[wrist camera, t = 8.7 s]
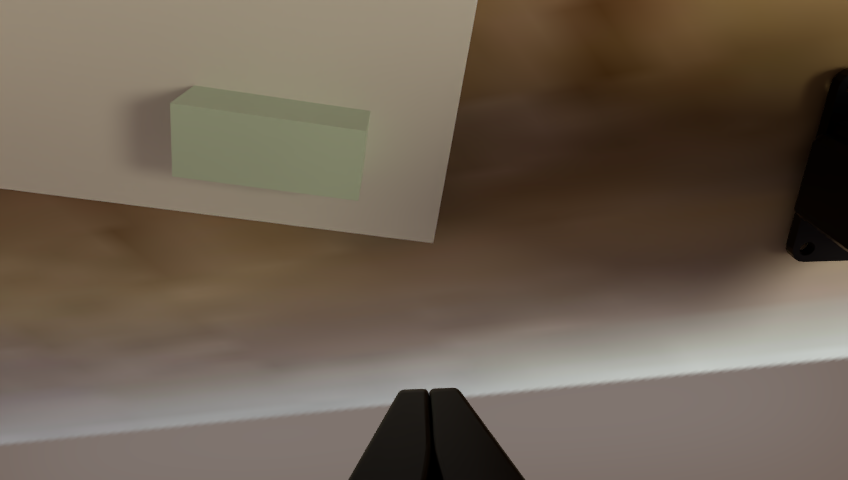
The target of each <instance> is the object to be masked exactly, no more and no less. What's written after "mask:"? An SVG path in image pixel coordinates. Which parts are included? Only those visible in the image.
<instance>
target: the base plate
mask: <svg viewBox="0 0 848 480" xmlns="http://www.w3.org/2000/svg"><path fill="white" fill-rule="evenodd" d="M477 1H478V0H0V188H1V189H9V190H16V191H24V192H32V193H40V194H48V195H56V196H64V197H72V198H80V199H88V200H96V201H103V202H111V203H119V204H127V205H135V206H143V207H151V208H159V209H167V210H175V211H182V212H190V213H198V214H206V215H214V216H222V217H230V218H238V219H246V220H254V221H262V222H269V223H277V224H285V225H293V226H301V227H309V228H317V229H325V230H333V231H341V232H348V233H356V234H364V235H372V236H380V237H388V238H396V239H404V240H412V241H420V242H428V243H433V242H434V237H435V231H436V226H437V220H438V215H439V209H440V204H441V198H442V193H443V187H444V182H445V176H446V171H447V165H448V160H449V154H450V149H451V143H452V138H453V132H454V127H455V121H456V116H457V110H458V105H459V99H460V94H461V88H462V83H463V77H464V72H465V66H466V61H467V56H468V50H469V45H470V39H471V34H472V28H473V23H474V17H475V12H476V6H477Z"/></svg>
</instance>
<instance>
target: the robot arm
mask: <svg viewBox="0 0 848 480" xmlns="http://www.w3.org/2000/svg"><path fill="white" fill-rule="evenodd" d="M847 86H848V69H844V70H843V71H841V72H839V73H838V74H837V75H836V76H835V77H834V79H833V81H832V83H831V85H830V89H829V92H828V96H827V99H826V103H825V107H824V110H823V114H822V117H821V121H820V125H819V128H818V132H817V135H816V139H815V140H814V141H813V143H812V147H811V151H810V154H809V158H808V162H807V165H806V169H805V172H804V176H803V180H802V183H801V187H800V191H799V194H798V198H797V201H796V205H795V215H794V218H793V222H792V225H791V229H790V233H789V236H788V240H787V243H786V250H787V252H788V253H789V254H790V255H791V256H792V257H793V258H795V259H796V260H798V261H802V262H812V261H845V260H848V92H847ZM805 243H808V244H807V246H806V247H805V248H804V249H802V250H800V248H801V246H802V245H804V244H805ZM349 480H525V479H524V477H523V476H522V475H521V473H520V472H519V471H518V469H517V468H516V467H515V465H514V464H513V463H512V461H511V460H510V458H509V457H508V456H507V454H506V453H505V452H504V450H503V449H502V447H501V446H500V445H499V443H498V442H497V441H496V439H495V438H494V437H493V435H492V434H491V433H490V431H489V430H488V428H487V427H486V426H485V424H484V423H483V422H482V420H481V419H480V418H479V416H478V415H477V413H476V412H475V411H474V410H473V408H472V407H471V405H470V404H469V403H468V401H467V400H466V398H465V397H464V396H463V394H462V393H461V392H460V391H459V390H458V389H456V388H438V389H432V390H431V391H430V393H428V391H427V390H425V389H411V390H401V391H400V392H399V393H398V394H397V396H396V398H395V400H394V401H393V403H392V405H391V406H390V408H389V410H388V412H387V414H386V415H385V417H384V419H383V420H382V422H381V424H380V426H379V428H378V429H377V431H376V433H375V434H374V436H373V438H372V440H371V441H370V443H369V445H368V446H367V448H366V450H365V452H364V453H363V455H362V457H361V459H360V460H359V462H358V464H357V466H356V468H355V469H354V471H353V473H352V475H351V476H350V478H349Z"/></svg>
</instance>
